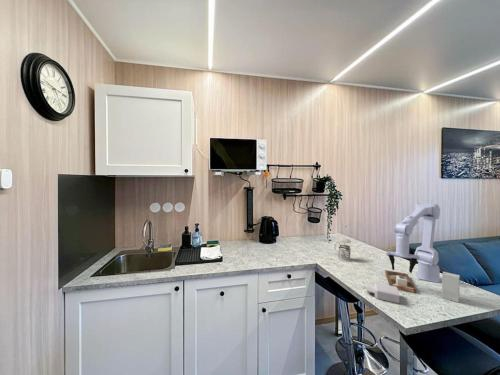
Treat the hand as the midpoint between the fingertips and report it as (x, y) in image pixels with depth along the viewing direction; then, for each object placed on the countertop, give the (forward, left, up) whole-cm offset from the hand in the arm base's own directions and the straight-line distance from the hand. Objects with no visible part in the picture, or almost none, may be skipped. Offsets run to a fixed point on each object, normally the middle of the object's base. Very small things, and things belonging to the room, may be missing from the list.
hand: (401, 270), depth 114 cm
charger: (+12, +17, -9) cm, 22 cm away
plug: (0, +1, -8) cm, 9 cm away
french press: (+30, -29, -9) cm, 43 cm away
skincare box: (-19, +4, -9) cm, 21 cm away
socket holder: (0, -5, -8) cm, 10 cm away
